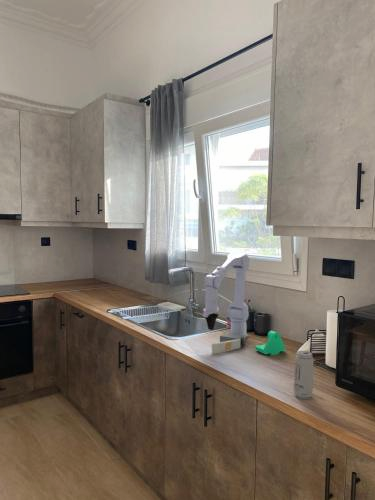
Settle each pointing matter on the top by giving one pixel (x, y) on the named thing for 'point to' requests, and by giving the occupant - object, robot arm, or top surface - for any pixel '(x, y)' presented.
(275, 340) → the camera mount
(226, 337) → the block
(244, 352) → the top surface
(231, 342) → the door
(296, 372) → the energy drink can
